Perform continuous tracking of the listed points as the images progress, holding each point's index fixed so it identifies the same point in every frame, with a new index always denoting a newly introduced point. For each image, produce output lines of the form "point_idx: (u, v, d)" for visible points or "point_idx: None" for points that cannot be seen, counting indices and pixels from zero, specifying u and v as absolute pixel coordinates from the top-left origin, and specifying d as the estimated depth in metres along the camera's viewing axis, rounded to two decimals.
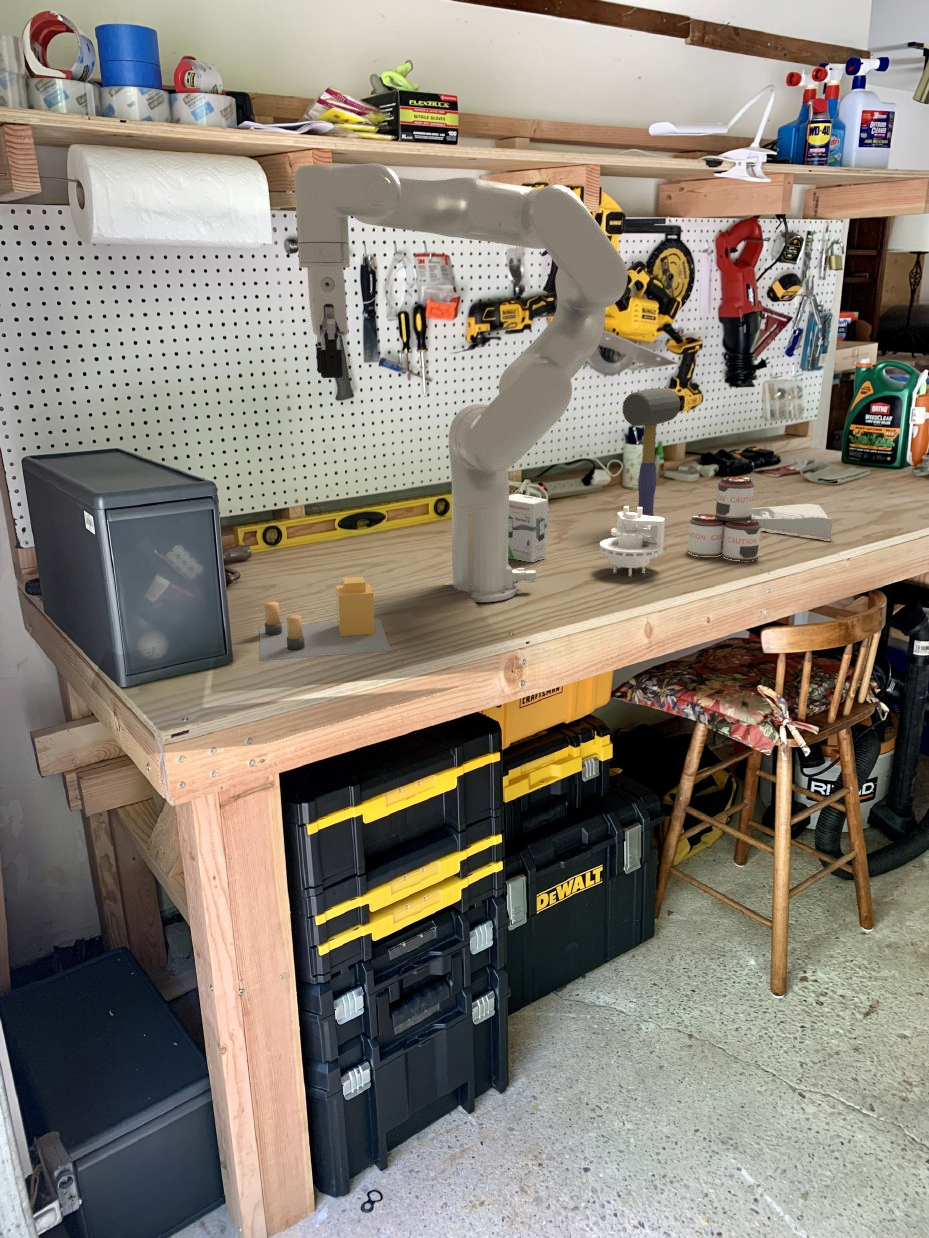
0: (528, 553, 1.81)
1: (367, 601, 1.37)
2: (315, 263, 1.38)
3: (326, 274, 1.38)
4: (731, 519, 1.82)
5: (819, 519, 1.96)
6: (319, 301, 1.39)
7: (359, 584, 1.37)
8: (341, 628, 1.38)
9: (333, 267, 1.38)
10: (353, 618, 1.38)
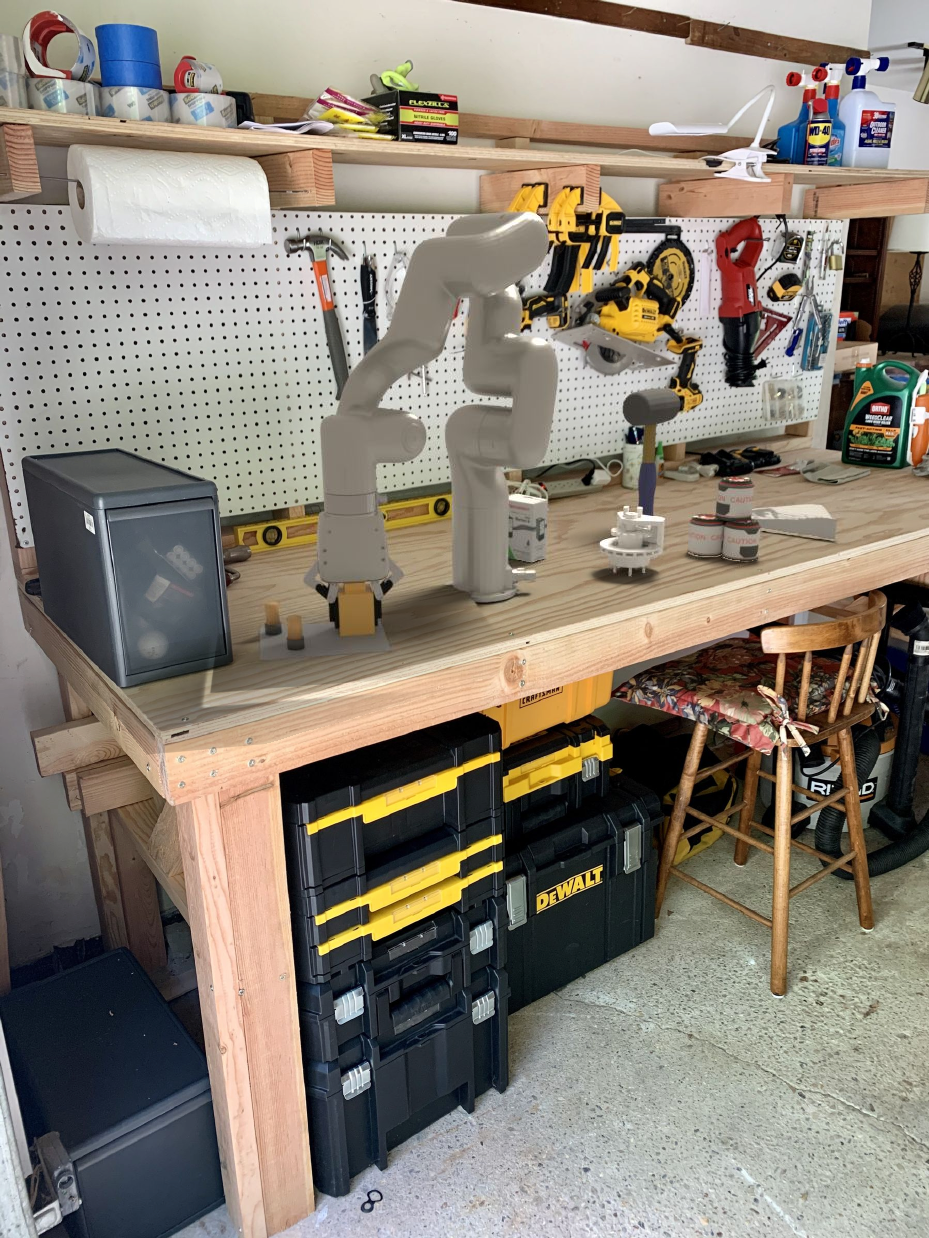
0: (528, 553, 1.81)
1: (367, 601, 1.37)
2: (375, 511, 1.34)
3: (383, 519, 1.36)
4: (731, 519, 1.82)
5: (823, 519, 1.96)
6: (387, 546, 1.36)
7: (359, 584, 1.37)
8: (341, 628, 1.38)
9: (381, 511, 1.37)
10: (353, 618, 1.38)
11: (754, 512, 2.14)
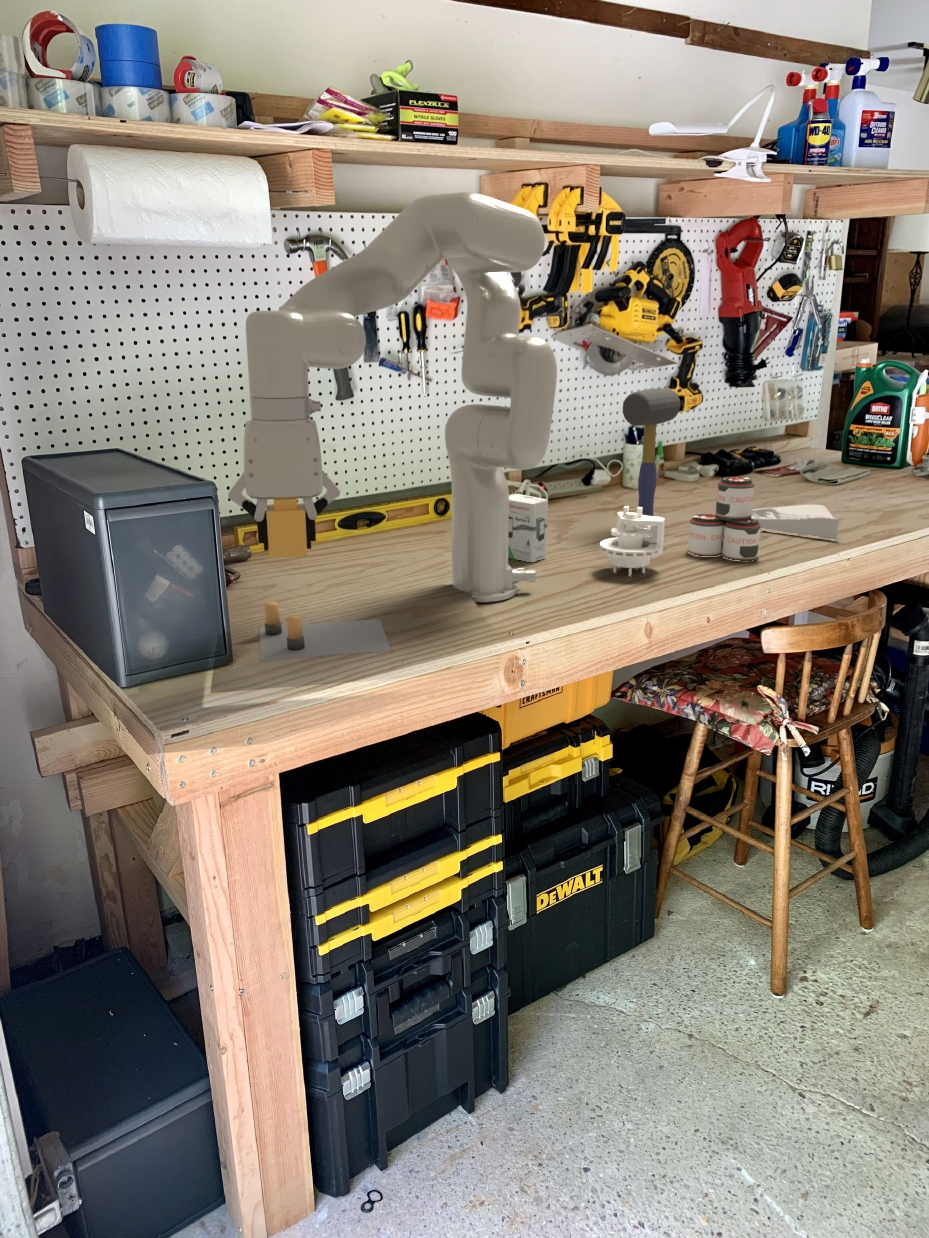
0: (528, 553, 1.81)
1: (298, 519, 1.25)
2: (307, 419, 1.23)
3: (317, 430, 1.25)
4: (731, 519, 1.82)
5: (825, 519, 1.96)
6: (320, 459, 1.25)
7: (289, 500, 1.25)
8: (270, 549, 1.26)
9: None
10: (283, 538, 1.26)
11: (755, 512, 2.14)
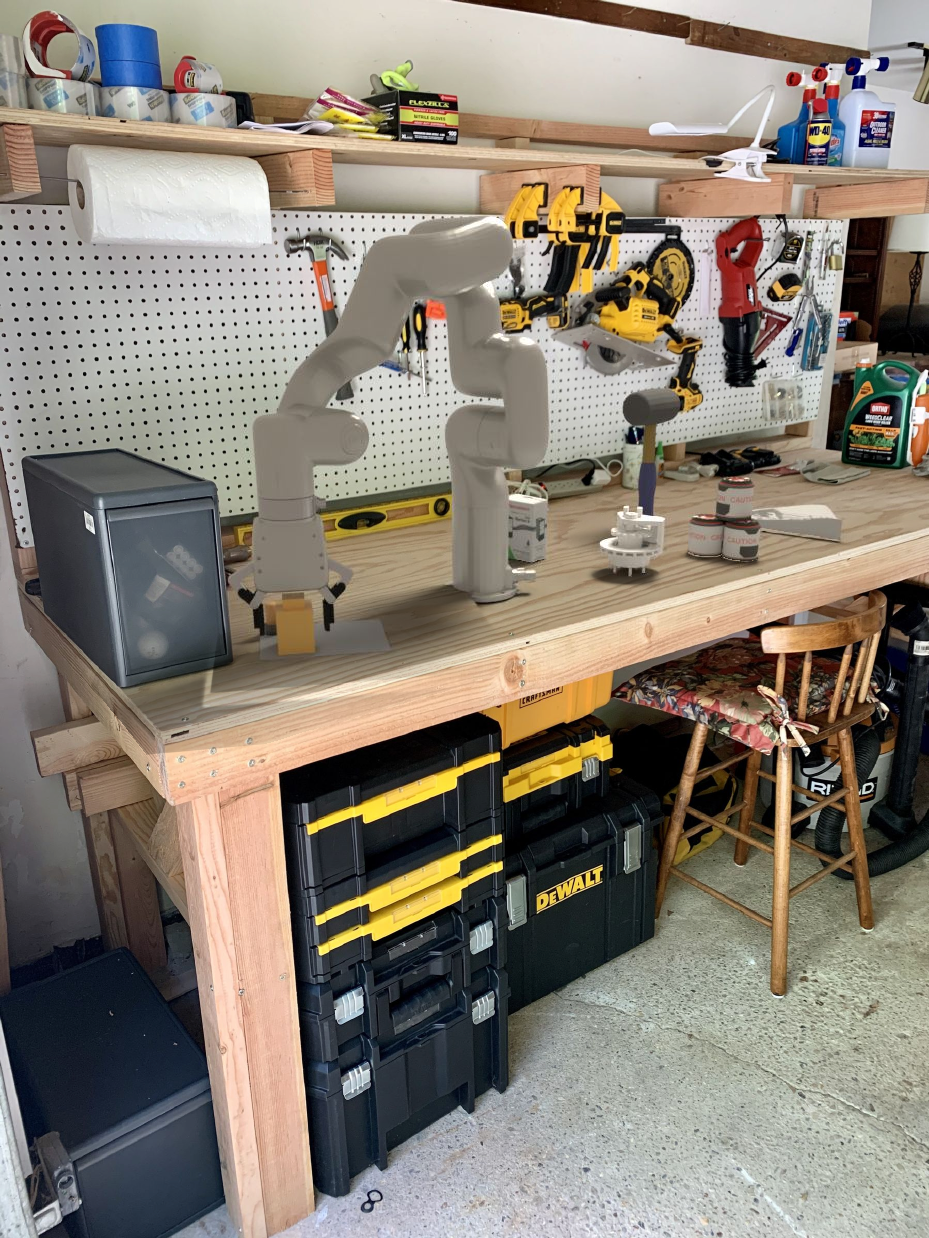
0: (528, 553, 1.81)
1: (306, 618, 1.30)
2: (313, 516, 1.27)
3: (322, 525, 1.29)
4: (731, 519, 1.82)
5: (828, 520, 1.96)
6: (326, 553, 1.29)
7: (298, 600, 1.30)
8: (279, 647, 1.30)
9: (320, 516, 1.29)
10: (292, 636, 1.30)
11: (757, 512, 2.13)
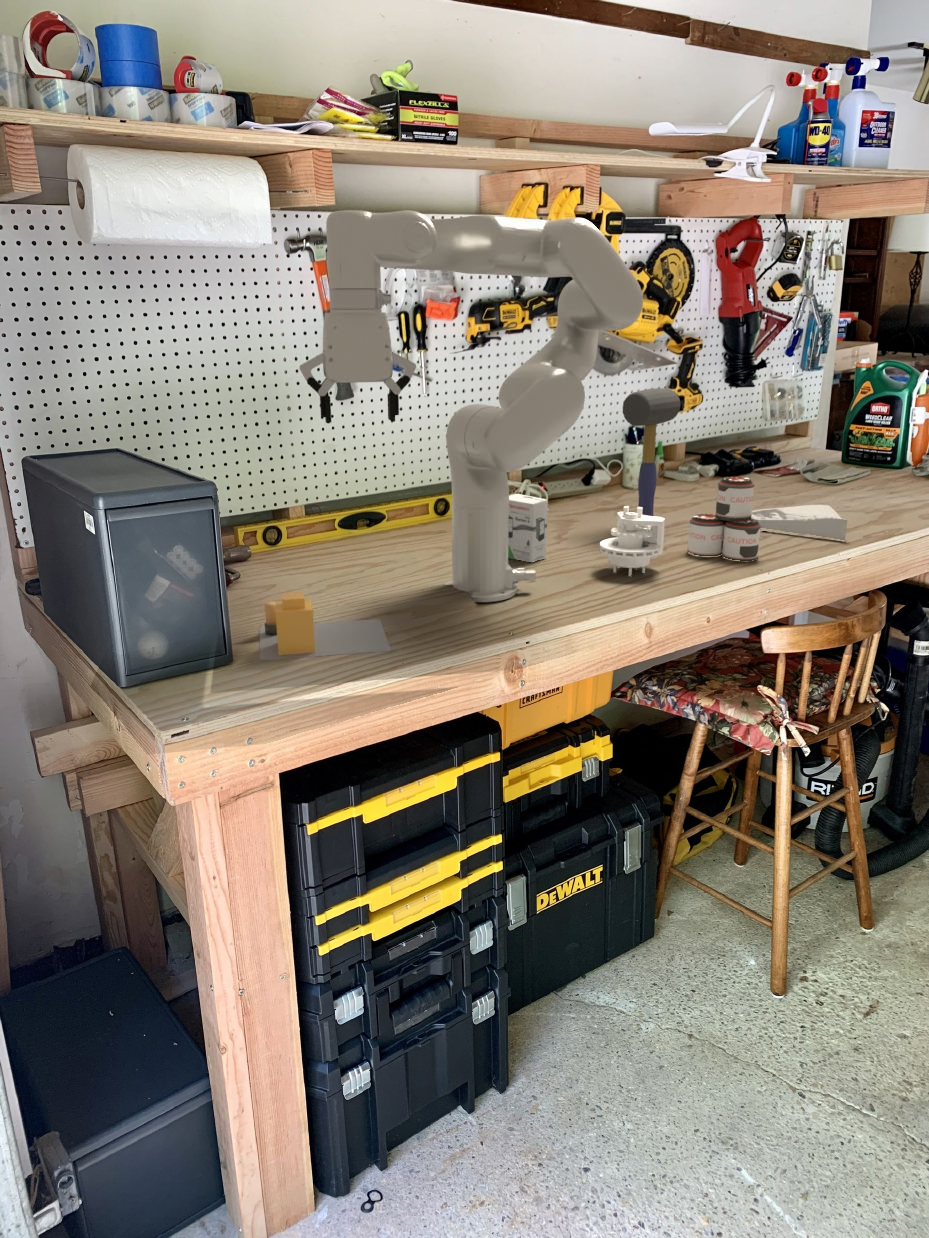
0: (528, 553, 1.81)
1: (306, 618, 1.30)
2: (380, 309, 1.38)
3: (387, 320, 1.40)
4: (731, 519, 1.82)
5: (833, 520, 1.96)
6: None
7: (298, 600, 1.30)
8: (279, 647, 1.30)
9: (385, 313, 1.41)
10: (292, 636, 1.30)
11: (760, 513, 2.13)
